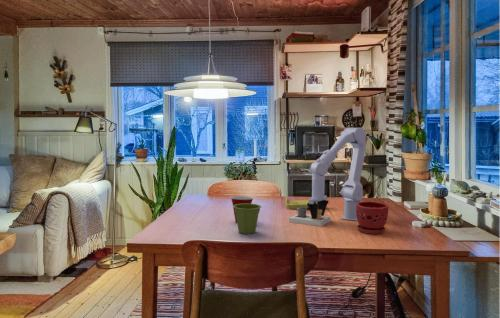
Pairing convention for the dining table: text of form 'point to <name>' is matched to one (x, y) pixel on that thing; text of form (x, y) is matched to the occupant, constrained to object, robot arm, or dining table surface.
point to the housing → (310, 220)
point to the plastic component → (296, 203)
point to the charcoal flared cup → (302, 212)
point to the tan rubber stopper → (319, 214)
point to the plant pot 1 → (247, 217)
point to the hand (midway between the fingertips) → (317, 217)
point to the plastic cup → (240, 202)
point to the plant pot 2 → (371, 217)
